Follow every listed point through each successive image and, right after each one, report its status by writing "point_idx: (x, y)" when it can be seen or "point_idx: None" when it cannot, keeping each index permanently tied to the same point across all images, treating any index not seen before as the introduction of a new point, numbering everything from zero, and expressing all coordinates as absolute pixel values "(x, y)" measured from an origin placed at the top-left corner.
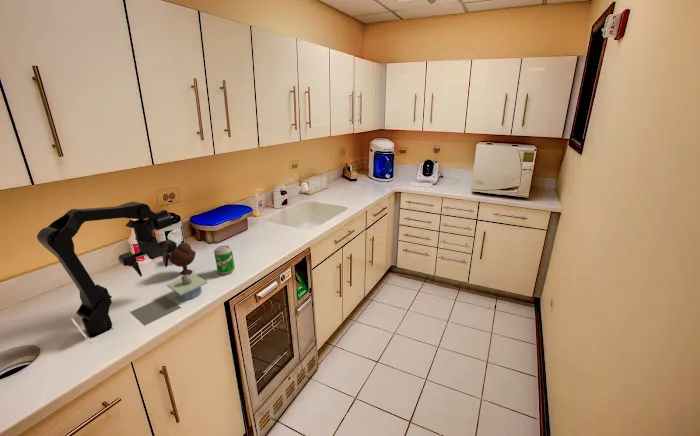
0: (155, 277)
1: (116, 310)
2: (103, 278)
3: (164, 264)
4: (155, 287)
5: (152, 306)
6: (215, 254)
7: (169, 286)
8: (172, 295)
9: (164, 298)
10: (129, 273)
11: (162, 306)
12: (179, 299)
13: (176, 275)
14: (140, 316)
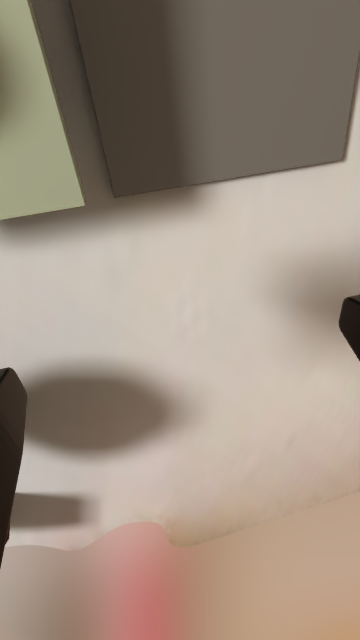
0: (119, 434)
1: (353, 251)
2: (264, 495)
3: (18, 421)
4: (141, 352)
5: (228, 107)
6: None
7: (64, 134)
8: None
9: (130, 163)
10: (193, 494)
11: (174, 27)
12: None
13: None
14: (339, 13)
